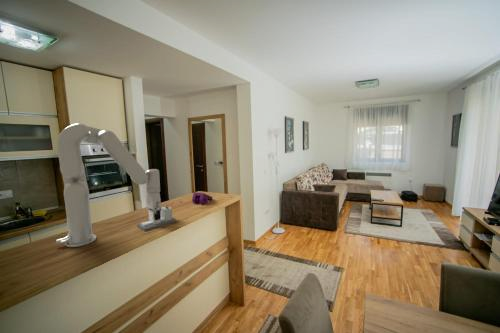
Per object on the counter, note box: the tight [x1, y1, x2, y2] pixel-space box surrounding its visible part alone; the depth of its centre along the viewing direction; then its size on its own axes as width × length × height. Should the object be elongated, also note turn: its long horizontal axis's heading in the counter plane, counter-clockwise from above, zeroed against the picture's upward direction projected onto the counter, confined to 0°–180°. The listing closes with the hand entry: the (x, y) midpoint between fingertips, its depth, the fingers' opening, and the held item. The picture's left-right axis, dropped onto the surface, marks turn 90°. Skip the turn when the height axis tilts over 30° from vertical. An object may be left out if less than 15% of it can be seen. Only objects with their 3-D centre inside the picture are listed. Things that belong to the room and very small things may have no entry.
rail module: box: [148, 209, 161, 225], centre depth 133 cm, size 4×6×7 cm
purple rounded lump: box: [191, 191, 213, 206], centre depth 182 cm, size 9×8×18 cm
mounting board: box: [136, 205, 177, 232], centre depth 134 cm, size 20×10×10 cm, turn 138°
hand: (154, 217), depth 133 cm, fingers open, 7 cm apart
